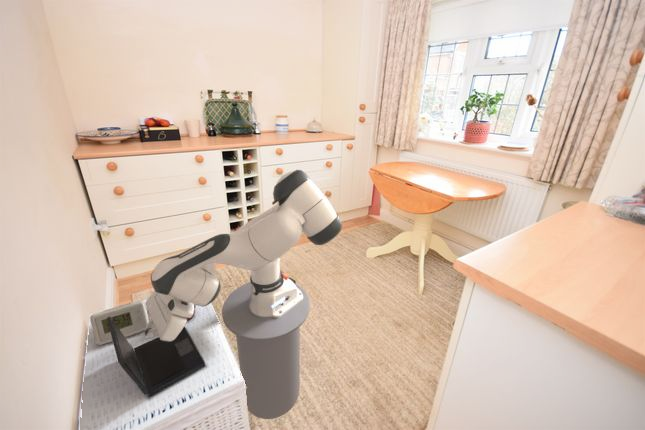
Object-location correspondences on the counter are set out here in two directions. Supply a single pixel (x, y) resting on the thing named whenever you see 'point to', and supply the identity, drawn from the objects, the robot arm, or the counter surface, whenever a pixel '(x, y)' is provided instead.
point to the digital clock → (120, 321)
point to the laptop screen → (126, 356)
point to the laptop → (167, 361)
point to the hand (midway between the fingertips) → (147, 335)
